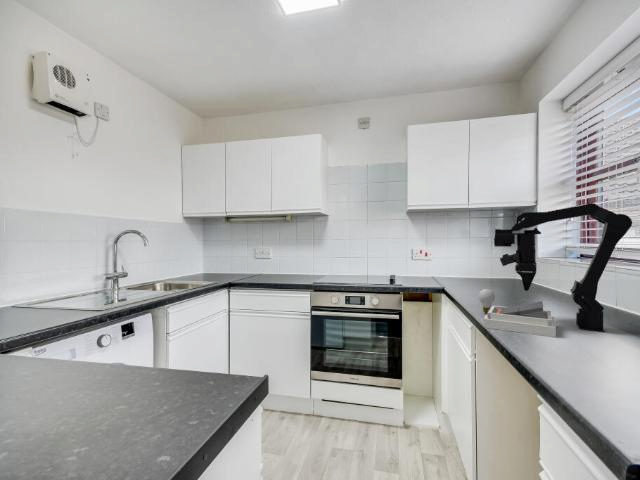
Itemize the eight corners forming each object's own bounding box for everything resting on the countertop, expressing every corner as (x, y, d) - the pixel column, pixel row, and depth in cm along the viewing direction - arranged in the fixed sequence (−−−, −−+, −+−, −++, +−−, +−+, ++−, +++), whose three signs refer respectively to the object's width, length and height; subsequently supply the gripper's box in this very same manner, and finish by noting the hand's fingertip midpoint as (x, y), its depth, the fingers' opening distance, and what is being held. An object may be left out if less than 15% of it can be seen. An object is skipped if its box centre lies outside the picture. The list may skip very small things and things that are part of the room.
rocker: (543, 304, 112) (541, 301, 112) (543, 311, 102) (541, 307, 103) (499, 312, 120) (498, 308, 120) (496, 318, 110) (494, 314, 110)
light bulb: (491, 312, 133) (491, 288, 133) (497, 315, 127) (497, 290, 127) (476, 311, 134) (476, 287, 134) (482, 315, 128) (481, 290, 128)
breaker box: (554, 325, 112) (553, 311, 112) (555, 337, 99) (555, 321, 99) (489, 317, 123) (489, 304, 123) (483, 327, 110) (483, 312, 110)
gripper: (503, 246, 130) (503, 284, 130) (498, 247, 115) (499, 290, 115) (536, 246, 124) (536, 286, 124) (536, 247, 109) (536, 293, 109)
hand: (526, 289), depth 118 cm, fingers open, 9 cm apart
